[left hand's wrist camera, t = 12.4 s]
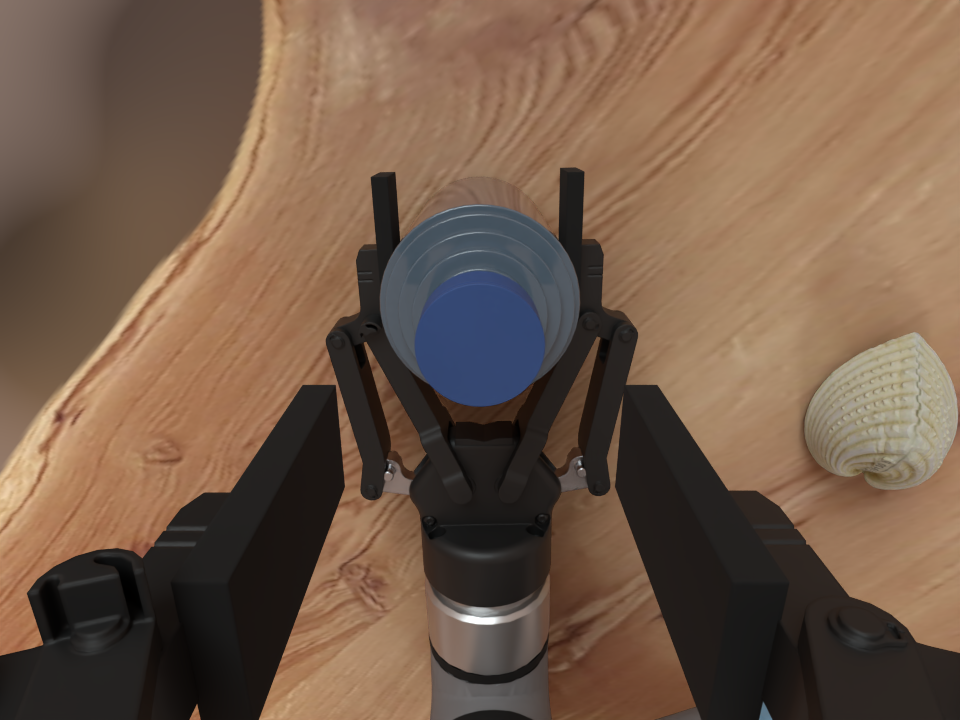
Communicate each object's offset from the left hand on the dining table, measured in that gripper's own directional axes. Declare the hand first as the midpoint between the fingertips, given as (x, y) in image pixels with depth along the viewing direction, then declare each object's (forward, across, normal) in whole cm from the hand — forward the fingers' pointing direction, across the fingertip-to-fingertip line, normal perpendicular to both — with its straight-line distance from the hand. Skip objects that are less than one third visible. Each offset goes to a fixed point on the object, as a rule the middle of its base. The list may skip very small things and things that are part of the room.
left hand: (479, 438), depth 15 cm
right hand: (+17, 0, -5) cm, 18 cm away
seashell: (+24, -25, +10) cm, 36 cm away
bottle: (+24, 0, 0) cm, 24 cm away
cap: (+7, 0, 0) cm, 7 cm away
